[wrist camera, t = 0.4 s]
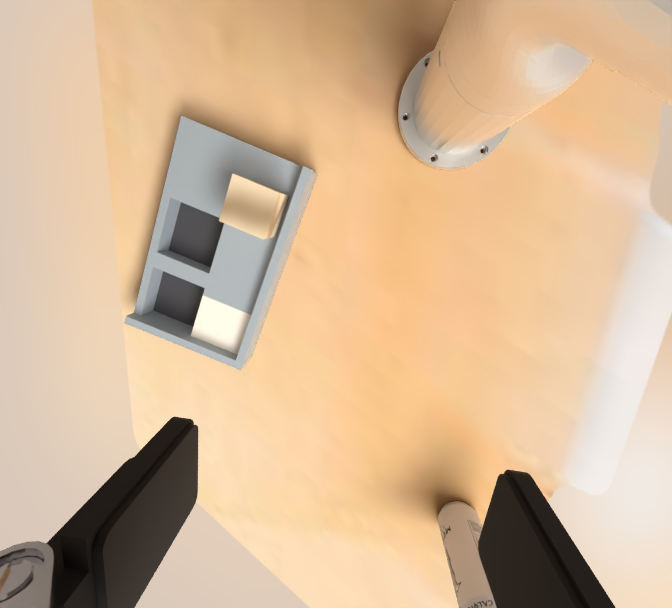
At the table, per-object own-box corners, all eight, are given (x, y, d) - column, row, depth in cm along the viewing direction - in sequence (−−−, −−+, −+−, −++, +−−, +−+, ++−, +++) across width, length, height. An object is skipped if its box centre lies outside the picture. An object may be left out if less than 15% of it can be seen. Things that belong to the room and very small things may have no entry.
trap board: (194, 122, 40) (173, 111, 35) (317, 174, 40) (311, 169, 36) (146, 313, 47) (124, 323, 42) (252, 355, 47) (240, 369, 43)
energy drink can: (432, 502, 51) (459, 615, 36) (471, 494, 50) (515, 607, 35) (442, 532, 52) (472, 653, 38) (480, 525, 51) (526, 646, 37)
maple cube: (249, 178, 38) (232, 173, 33) (289, 195, 38) (278, 192, 33) (236, 220, 39) (218, 220, 34) (275, 236, 39) (263, 239, 35)
